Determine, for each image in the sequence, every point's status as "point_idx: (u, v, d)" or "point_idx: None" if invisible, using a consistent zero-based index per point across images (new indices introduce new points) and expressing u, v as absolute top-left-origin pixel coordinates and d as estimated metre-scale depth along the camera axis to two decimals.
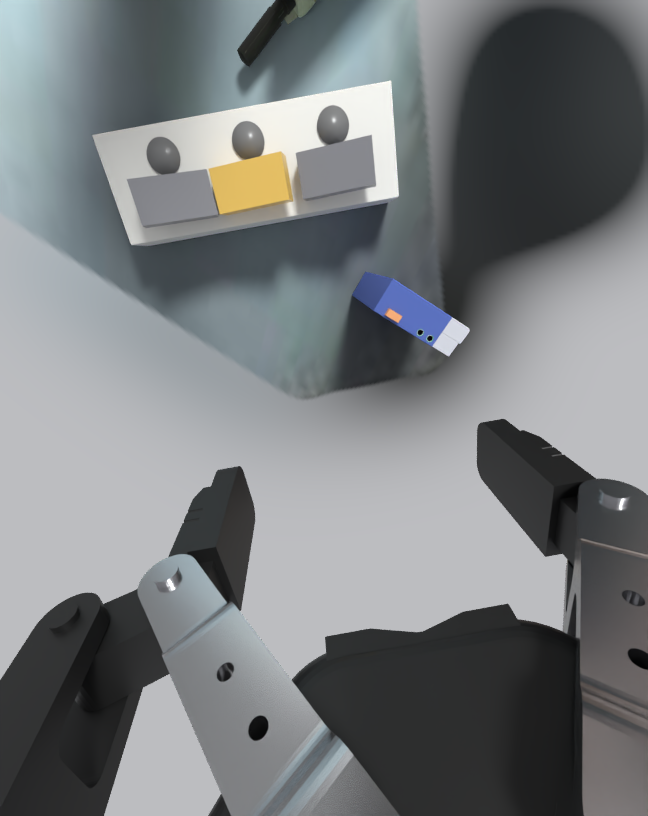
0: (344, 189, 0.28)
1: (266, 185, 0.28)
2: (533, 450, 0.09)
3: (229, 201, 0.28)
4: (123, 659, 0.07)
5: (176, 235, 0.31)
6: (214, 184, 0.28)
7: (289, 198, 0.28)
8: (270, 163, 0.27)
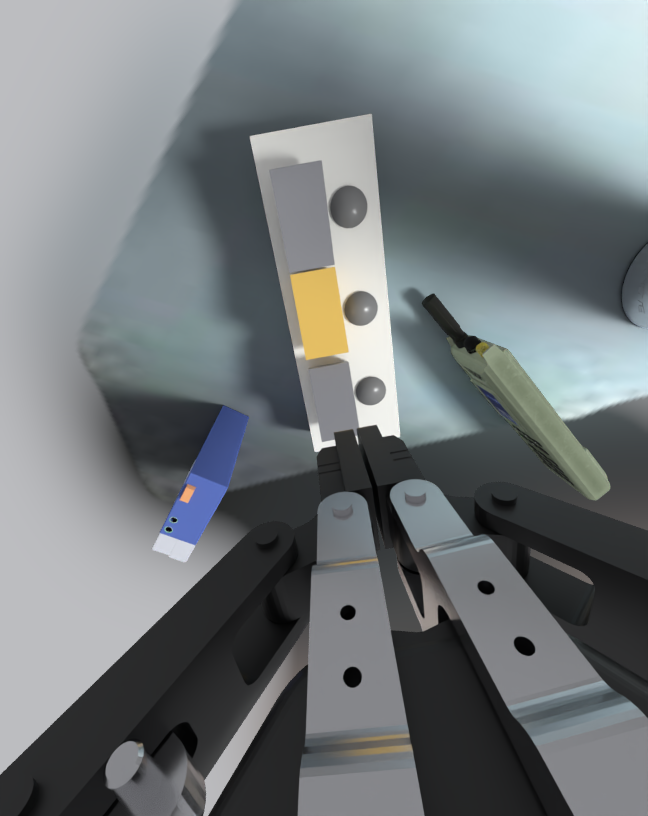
0: (317, 412, 0.28)
1: (318, 335, 0.25)
2: (381, 454, 0.10)
3: (303, 289, 0.25)
4: None
5: (265, 207, 0.24)
6: (320, 272, 0.24)
7: None
8: (338, 340, 0.26)
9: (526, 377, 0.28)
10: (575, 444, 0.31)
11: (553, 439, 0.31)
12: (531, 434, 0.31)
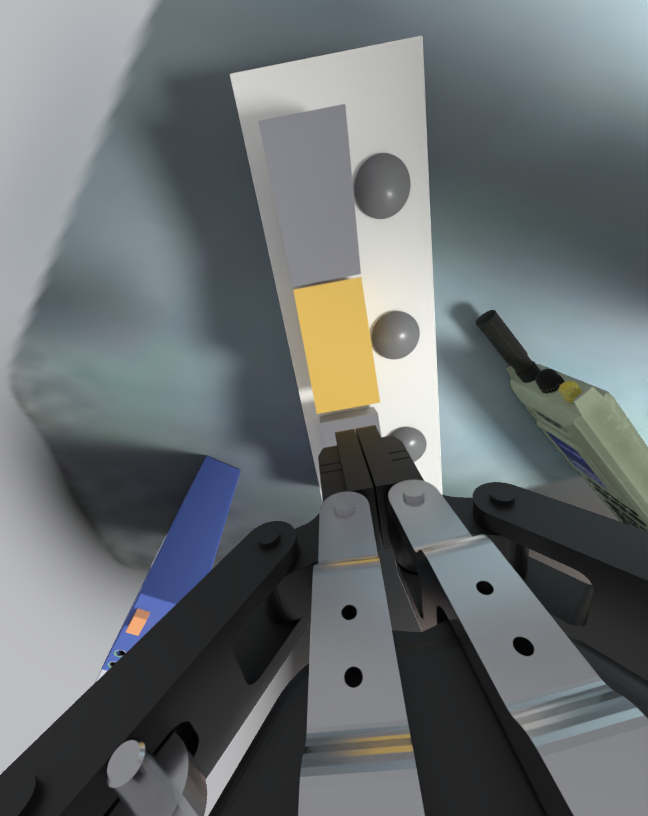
0: None
1: (335, 377, 0.17)
2: (380, 454, 0.10)
3: (313, 310, 0.16)
4: None
5: (257, 188, 0.16)
6: (338, 285, 0.16)
7: None
8: (364, 386, 0.17)
9: (633, 431, 0.20)
10: None
11: None
12: (627, 502, 0.23)
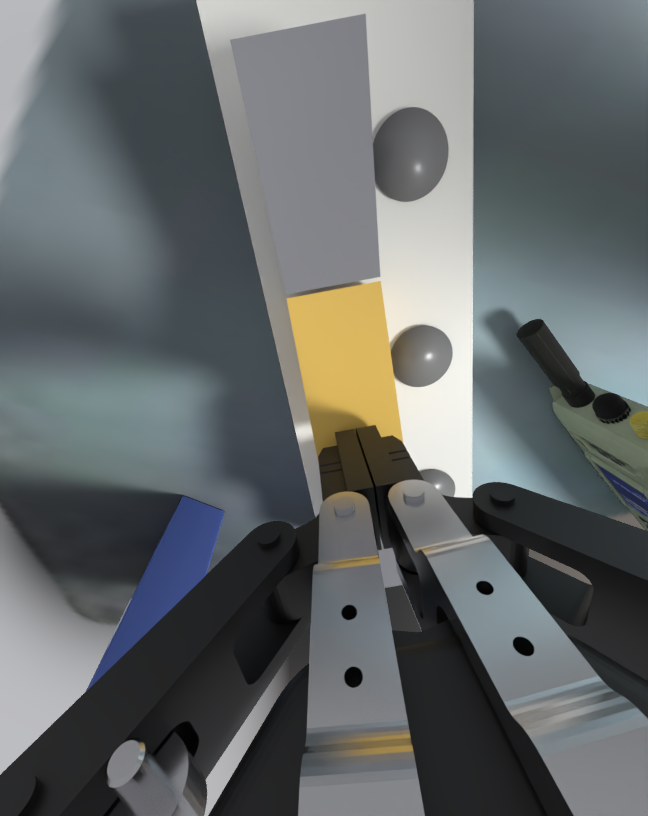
0: None
1: (344, 417, 0.13)
2: (380, 454, 0.10)
3: (314, 327, 0.12)
4: None
5: (235, 157, 0.11)
6: (349, 293, 0.12)
7: None
8: (383, 428, 0.13)
9: None
10: None
11: None
12: None
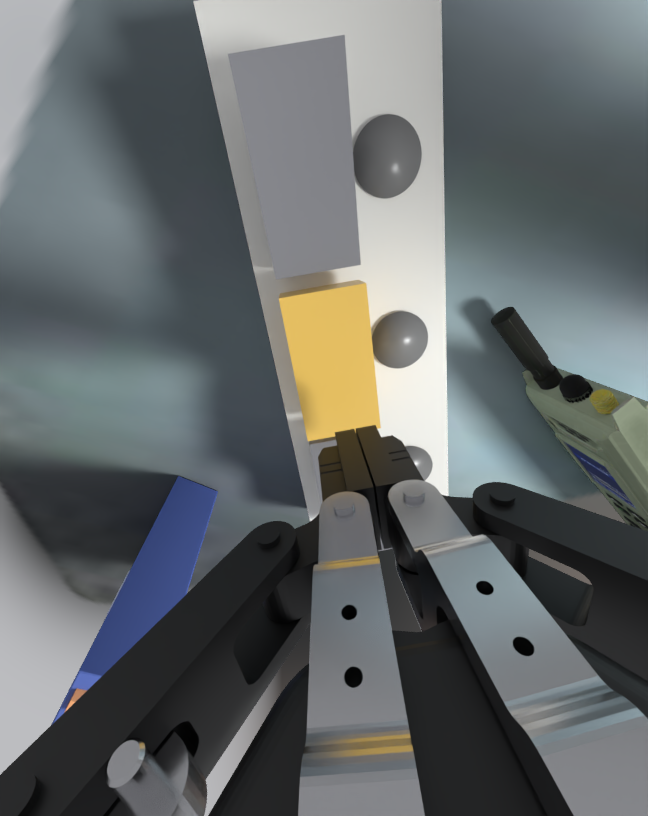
0: None
1: (330, 402, 0.14)
2: (380, 454, 0.10)
3: (304, 324, 0.13)
4: None
5: (231, 155, 0.13)
6: (337, 294, 0.13)
7: None
8: (364, 411, 0.15)
9: None
10: None
11: None
12: None
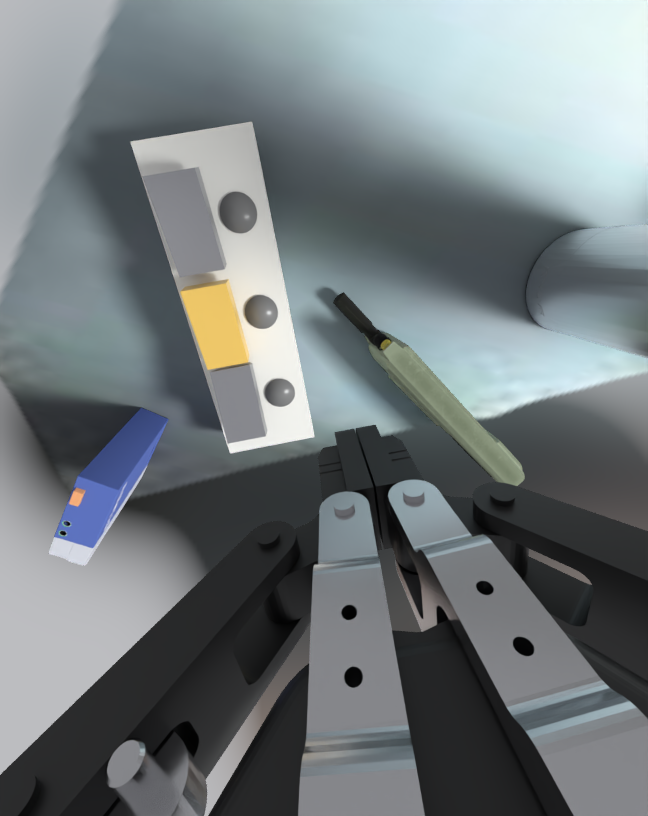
0: (221, 414, 0.28)
1: (216, 347, 0.26)
2: (380, 454, 0.10)
3: (195, 305, 0.25)
4: None
5: (154, 212, 0.24)
6: (211, 289, 0.24)
7: None
8: (237, 352, 0.27)
9: (429, 373, 0.29)
10: (485, 437, 0.32)
11: (463, 432, 0.32)
12: (443, 428, 0.32)
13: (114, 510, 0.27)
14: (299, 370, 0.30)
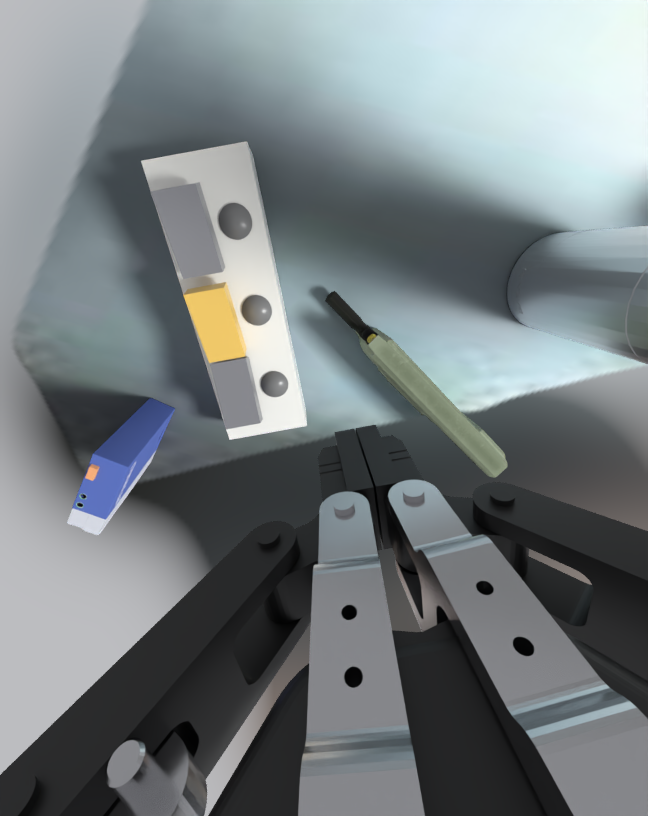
0: (220, 402, 0.31)
1: (217, 343, 0.30)
2: (380, 454, 0.10)
3: (197, 306, 0.28)
4: None
5: (161, 222, 0.28)
6: (210, 292, 0.27)
7: None
8: (235, 347, 0.30)
9: (412, 364, 0.31)
10: (467, 425, 0.34)
11: (446, 421, 0.34)
12: (427, 417, 0.34)
13: (124, 487, 0.31)
14: (292, 363, 0.33)
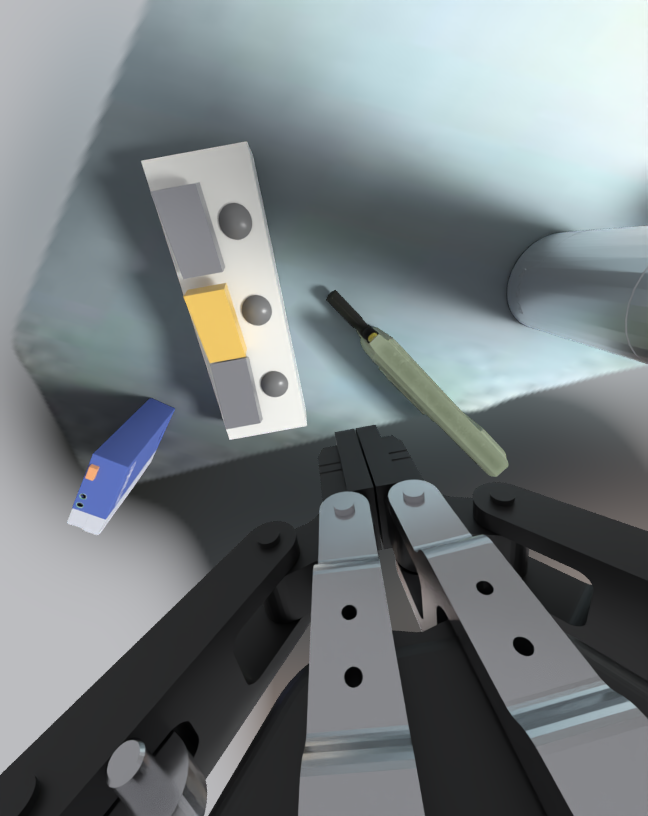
0: (220, 402, 0.31)
1: (217, 344, 0.30)
2: (380, 454, 0.10)
3: (197, 308, 0.28)
4: None
5: (161, 222, 0.28)
6: (211, 294, 0.27)
7: None
8: (235, 348, 0.30)
9: (413, 363, 0.31)
10: (468, 424, 0.34)
11: (446, 420, 0.34)
12: (428, 416, 0.34)
13: (124, 487, 0.31)
14: (292, 363, 0.33)
